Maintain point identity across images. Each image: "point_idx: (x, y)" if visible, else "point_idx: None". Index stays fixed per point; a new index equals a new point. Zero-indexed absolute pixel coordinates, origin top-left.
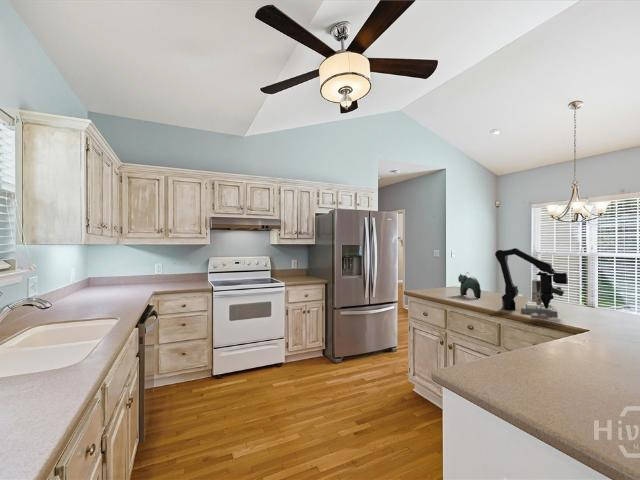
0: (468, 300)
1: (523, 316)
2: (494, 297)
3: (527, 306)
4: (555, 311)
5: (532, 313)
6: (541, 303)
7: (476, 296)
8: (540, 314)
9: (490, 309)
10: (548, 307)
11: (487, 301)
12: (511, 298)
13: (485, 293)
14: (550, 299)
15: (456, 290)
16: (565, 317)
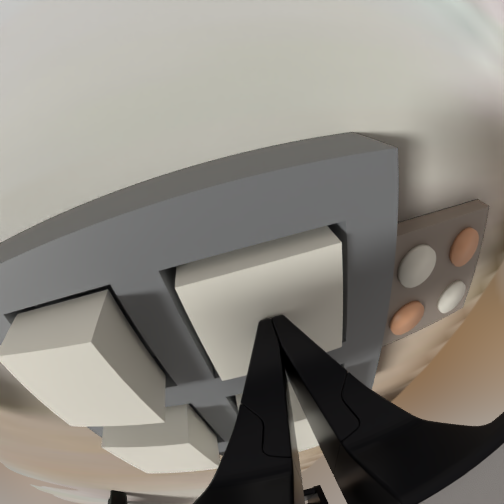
0: (186, 497)
1: (447, 330)
2: (39, 468)
3: None
4: (398, 175)
5: (403, 333)
6: (120, 423)
7: (126, 501)
8: (419, 283)
9: None
10: (122, 330)
11: (138, 485)
12: (326, 499)
13: (19, 470)
14: (453, 430)
15: (69, 497)
16: (327, 42)
